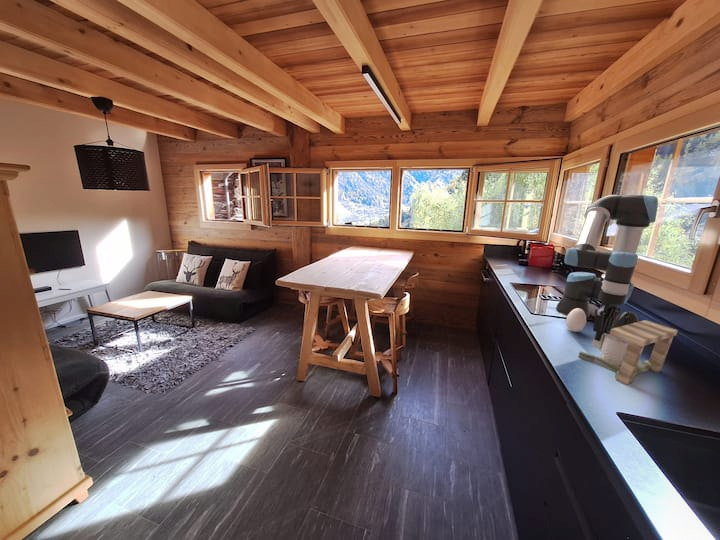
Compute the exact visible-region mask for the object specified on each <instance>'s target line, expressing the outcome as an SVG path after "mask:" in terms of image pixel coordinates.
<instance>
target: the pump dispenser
mask: <svg viewBox="0 0 720 540" xmlns="http://www.w3.org/2000/svg"><path fill="white" fill-rule="evenodd" d="M636 322H640V321H639V317H638V316H637V314H636V313H634V312H632V311H628V310H627V311H625V310H624V311H622V312H620V313H618V314H617V316H616V319H615V321H614V323H613V325H612V328H611V329H613V328H617V327H621V326H624V325H628V324H632V323H636ZM610 331H611V330H610ZM610 331H608V332H610ZM609 334H610V333H609Z"/></svg>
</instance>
